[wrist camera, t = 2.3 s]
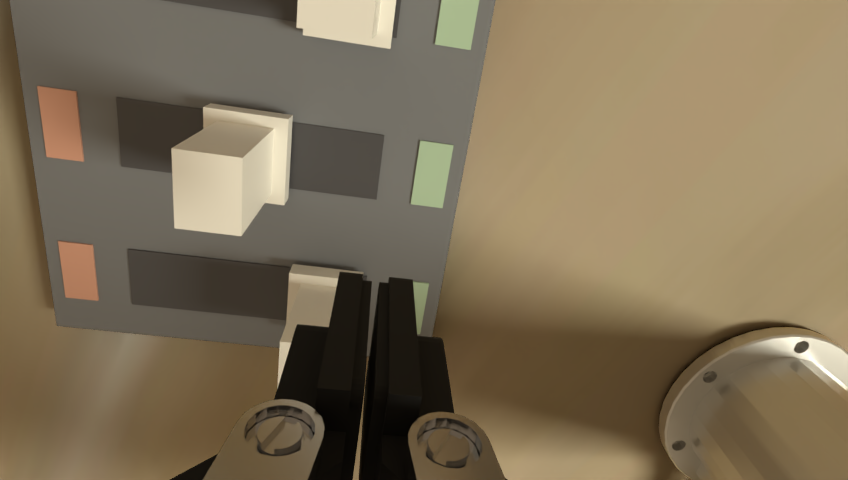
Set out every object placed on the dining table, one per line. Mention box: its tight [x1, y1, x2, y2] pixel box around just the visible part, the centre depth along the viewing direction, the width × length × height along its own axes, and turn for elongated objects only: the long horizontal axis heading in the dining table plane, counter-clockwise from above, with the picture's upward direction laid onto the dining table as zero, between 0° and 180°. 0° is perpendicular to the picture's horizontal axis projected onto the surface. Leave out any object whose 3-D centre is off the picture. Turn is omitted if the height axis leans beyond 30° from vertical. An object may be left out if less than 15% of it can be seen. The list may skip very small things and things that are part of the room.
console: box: [9, 0, 495, 357], centre depth 25 cm, size 22×20×2 cm
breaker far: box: [277, 264, 364, 389], centre depth 25 cm, size 4×4×6 cm
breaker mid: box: [171, 103, 293, 236], centre depth 21 cm, size 4×4×6 cm
